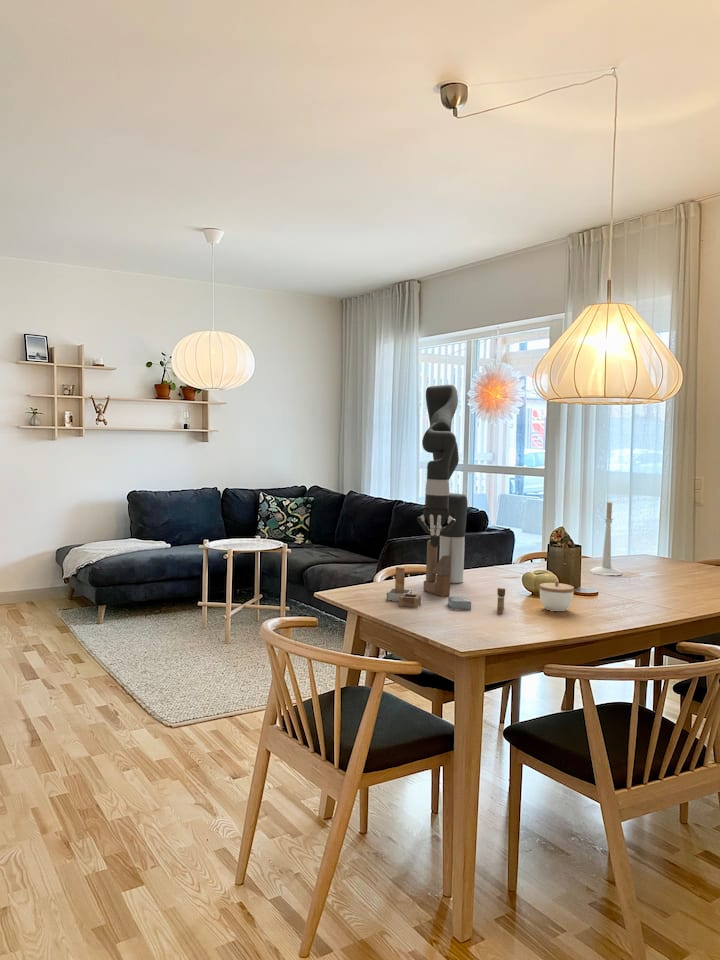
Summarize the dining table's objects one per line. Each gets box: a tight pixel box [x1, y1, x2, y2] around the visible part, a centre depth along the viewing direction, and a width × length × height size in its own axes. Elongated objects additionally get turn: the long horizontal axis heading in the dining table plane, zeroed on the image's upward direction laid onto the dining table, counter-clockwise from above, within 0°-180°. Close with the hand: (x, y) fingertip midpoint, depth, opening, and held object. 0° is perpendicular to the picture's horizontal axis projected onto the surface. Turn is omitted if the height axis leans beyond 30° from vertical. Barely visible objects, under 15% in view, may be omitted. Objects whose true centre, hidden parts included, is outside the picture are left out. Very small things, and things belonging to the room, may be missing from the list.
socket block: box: [398, 593, 422, 608], centre depth 240 cm, size 6×6×3 cm
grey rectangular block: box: [447, 595, 472, 611], centre depth 239 cm, size 7×6×3 cm
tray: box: [385, 587, 413, 602], centre depth 249 cm, size 8×7×2 cm
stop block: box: [496, 587, 506, 615], centre depth 236 cm, size 9×2×7 cm, turn 166°
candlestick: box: [589, 501, 622, 573], centre depth 309 cm, size 13×13×30 cm
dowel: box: [394, 566, 406, 594], centre depth 248 cm, size 3×3×10 cm
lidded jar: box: [539, 580, 575, 612], centre depth 240 cm, size 11×11×9 cm
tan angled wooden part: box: [422, 539, 451, 597], centre depth 259 cm, size 4×11×18 cm, turn 31°
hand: (435, 547), depth 240 cm, fingers closed
